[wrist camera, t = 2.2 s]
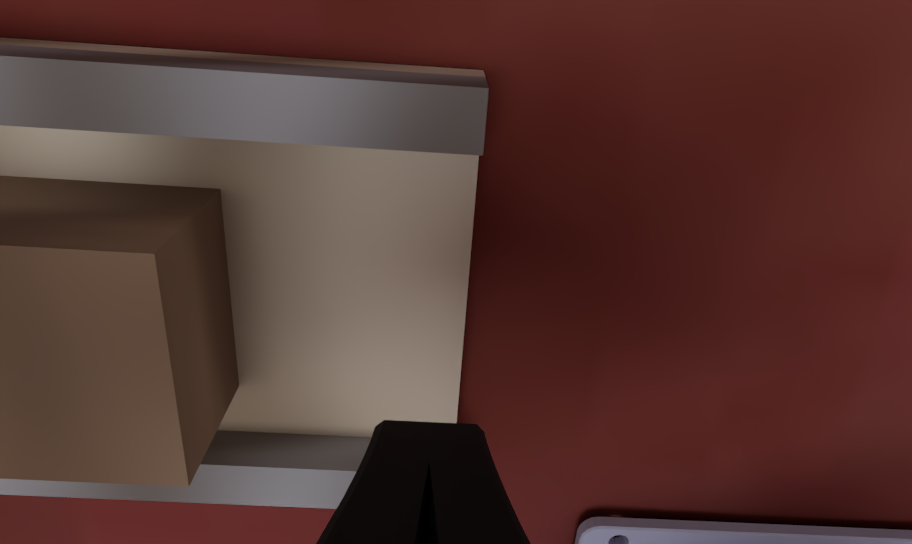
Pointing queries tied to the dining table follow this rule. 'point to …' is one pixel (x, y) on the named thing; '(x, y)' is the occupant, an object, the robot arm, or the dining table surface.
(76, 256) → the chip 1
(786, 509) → the dining table surface
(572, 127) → the dining table surface
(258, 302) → the slot board
